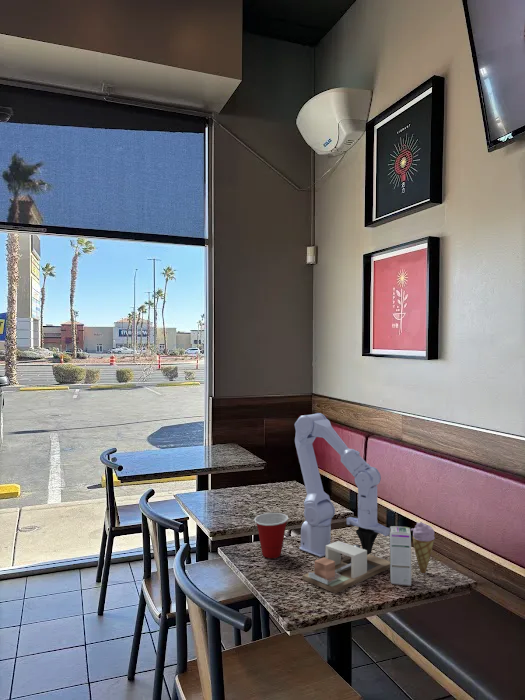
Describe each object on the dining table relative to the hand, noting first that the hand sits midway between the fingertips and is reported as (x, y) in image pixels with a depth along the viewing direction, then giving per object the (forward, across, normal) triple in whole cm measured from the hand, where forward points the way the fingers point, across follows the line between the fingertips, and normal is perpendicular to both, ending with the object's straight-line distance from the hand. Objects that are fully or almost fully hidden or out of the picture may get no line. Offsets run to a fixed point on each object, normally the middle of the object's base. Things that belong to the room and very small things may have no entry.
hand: (367, 553), depth 162 cm
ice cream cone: (+4, -14, -8) cm, 16 cm away
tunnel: (+2, 0, +10) cm, 11 cm away
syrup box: (+4, -13, +2) cm, 14 cm away
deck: (+3, 0, +9) cm, 10 cm away
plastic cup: (+4, +25, +17) cm, 30 cm away
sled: (+2, 0, +13) cm, 14 cm away
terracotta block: (+1, 0, +20) cm, 20 cm away
